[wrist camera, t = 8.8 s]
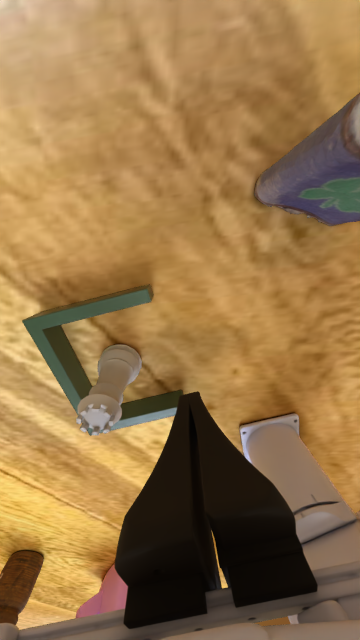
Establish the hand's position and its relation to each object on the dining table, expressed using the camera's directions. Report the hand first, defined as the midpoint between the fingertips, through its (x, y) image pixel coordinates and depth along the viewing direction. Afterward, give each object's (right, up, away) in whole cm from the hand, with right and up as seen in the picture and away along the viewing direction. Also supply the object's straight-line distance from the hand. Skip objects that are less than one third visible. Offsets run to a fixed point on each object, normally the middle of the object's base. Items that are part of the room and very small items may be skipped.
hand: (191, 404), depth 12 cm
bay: (-7, +1, +8) cm, 11 cm away
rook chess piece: (-7, +1, +8) cm, 11 cm away
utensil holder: (-29, -38, +21) cm, 52 cm away
